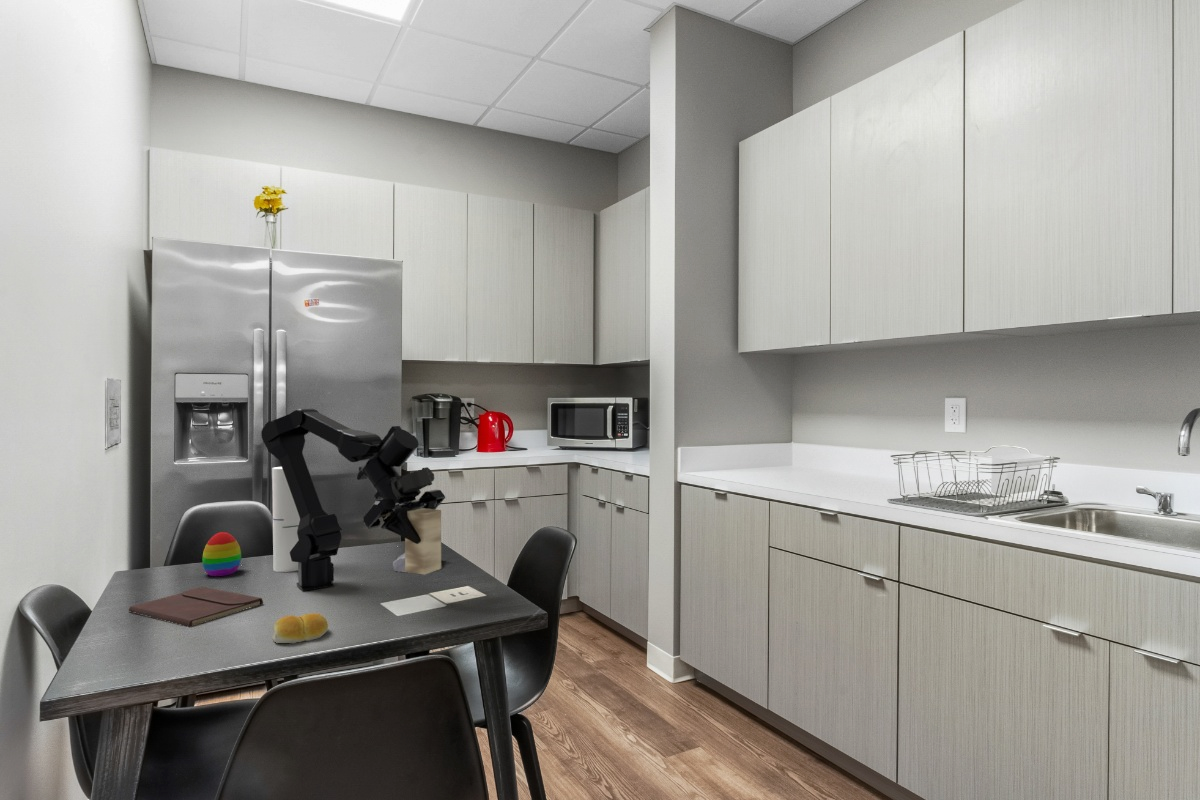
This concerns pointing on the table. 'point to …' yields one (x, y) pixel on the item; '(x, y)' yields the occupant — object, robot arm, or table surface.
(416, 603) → the grey mat
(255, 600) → the notebook
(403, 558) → the stone block
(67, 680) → the table surface
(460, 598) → the tile
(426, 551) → the maple block
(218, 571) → the decorative egg
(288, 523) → the cylindrical container
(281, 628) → the bread roll
